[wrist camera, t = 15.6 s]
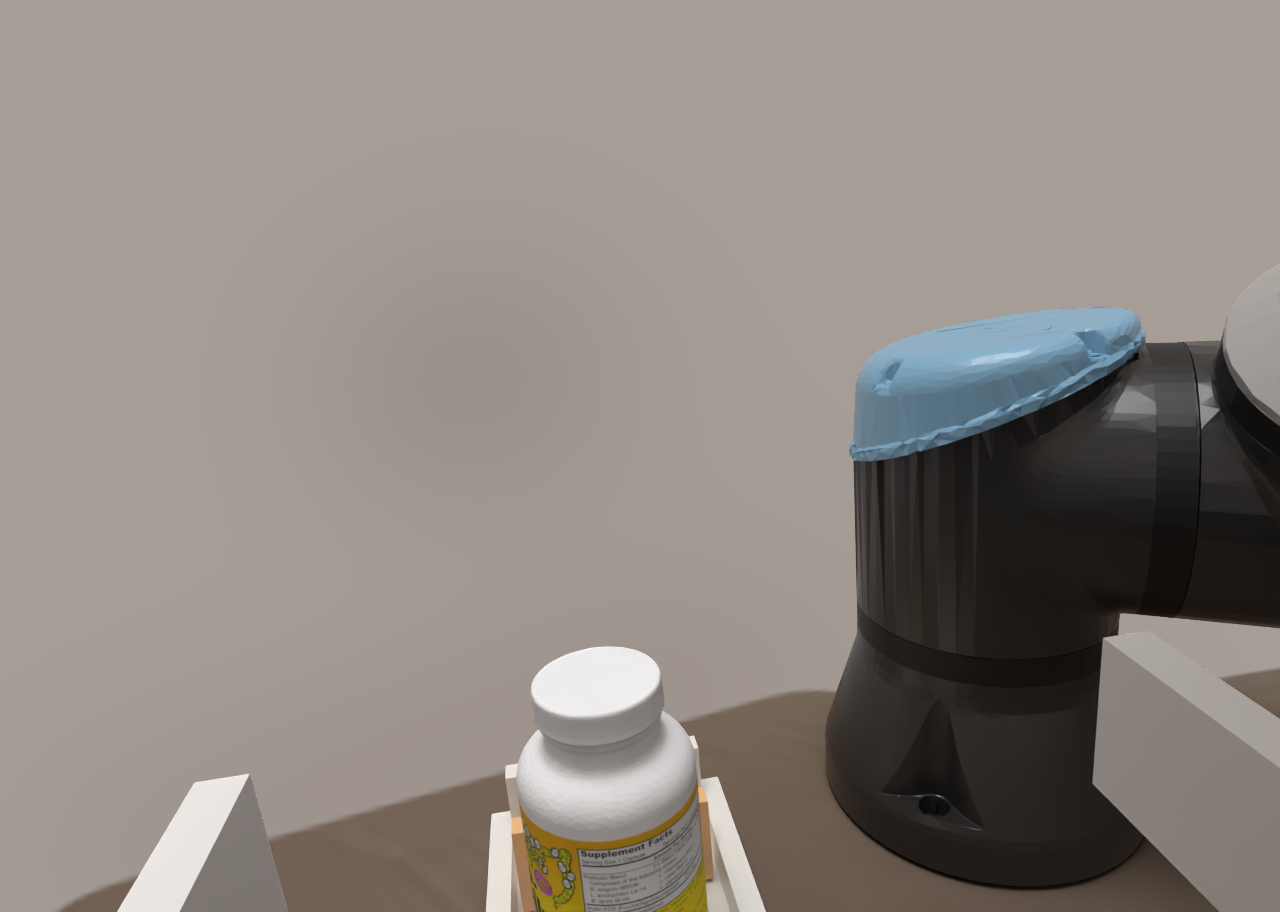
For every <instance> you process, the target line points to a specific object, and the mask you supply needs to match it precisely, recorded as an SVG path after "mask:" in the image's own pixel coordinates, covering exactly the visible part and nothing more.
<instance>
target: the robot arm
mask: <svg viewBox="0 0 1280 912" xmlns="http://www.w3.org/2000/svg"><path fill="white" fill-rule="evenodd" d="M1145 336H1146V330H1145V329H1144V328H1143V327H1142V326H1141V324H1140V320H1139V317H1138V316H1137V315H1136V314H1135V313H1134V312H1132V311H1130V310H1127V309H1122V308H1113V307H1092V308H1086V309H1085V308H1080V309H1073V310H1068V309H1056V310H1046V311H1037V312H1029V313H1021V314H1014V315H1007V316H1001V317H995V318H989V319H983V320H978V321H972V322H967V323H962V324H957V325H953V326H948V327H944V328H940V329H936V330H932V331H928V332H924V333H921V334H917V335H914V336H910V337H908V338H904V339H902V340H899V341H897V342H894V343H892V344H890V345H888V346H886V347H884V348H882V349H880V350H879V351H878V352H876V353H875V354H874V355H873V356H871V357H870V358H869V359H868V361H867V362H866V363H865V364H864V366H863V367H862V369H861V371H860V373H859V375H858V378H857V382H856V391H855V413H854V435H853V439H852V441H851V444H850V448H849V451H850V456H851V457H852V459H853V460H854V493H855V494H854V497H855V532H856V533H855V538H856V577H857V578H856V579H857V618H858V619H857V636H856V638H855V641H854V644H853V647H852V649H851V652H850V655H849V658H848V661H847V663H846V666H845V669H844V672H843V675H842V678H841V681H840V683H839V686H838V689H837V692H836V695H835V698H834V700H833V703H832V706H831V709H830V712H829V715H828V718H827V724H826V732H825V738H826V769H827V776H828V780H829V783H830V786H831V789H832V791H833V793H834V795H835V797H836V798H837V800H838V802H839V803H840V805H841V806H842V807H843V809H844V810H845V812H846V813H847V814H848V815H849V816H850V817H851V818H852V819H853V820H854V821H855V822H856V823H857V824H858V825H859V826H860V827H861V828H862V829H863V830H864V831H866V832H867V833H868V834H869V835H871V836H872V837H873V838H875V839H876V840H877V841H879V842H880V843H882V844H883V845H885V846H886V847H888V848H890V849H891V850H893V851H895V852H897V853H898V854H900V855H902V856H904V857H906V858H908V859H910V860H913V861H915V862H917V863H919V864H921V865H924V866H927V867H929V868H932V869H934V870H937V871H940V872H943V873H946V874H950V875H953V876H957V877H960V878H965V879H969V880H973V881H979V882H984V883H991V884H998V885H1009V886H1049V885H1059V884H1065V883H1071V882H1075V881H1080V880H1084V879H1087V878H1090V877H1093V876H1096V875H1098V874H1101V873H1103V872H1105V871H1107V870H1109V869H1111V868H1113V867H1115V866H1116V865H1118V864H1120V863H1121V862H1122V861H1124V860H1125V859H1126V858H1127V857H1129V856H1130V855H1131V854H1132V853H1133V852H1134V850H1135V849H1136V848H1137V847H1138V845H1139V844H1140V842H1141V840H1142V839H1143V837H1144V836H1145V837H1146V838H1147V839H1148V840H1149V841H1150V842H1151V843H1152V844H1153V845H1154V846H1155V847H1156V848H1157V849H1158V850H1159V851H1160V852H1161V853H1162V854H1163V855H1164V856H1165V857H1166V858H1167V859H1168V860H1169V861H1170V862H1171V863H1172V864H1173V865H1174V866H1175V867H1176V868H1177V869H1178V870H1179V871H1180V872H1181V873H1182V874H1183V875H1184V876H1185V877H1186V878H1187V880H1188V881H1189V882H1190V883H1191V884H1192V885H1193V886H1194V887H1195V888H1196V889H1197V890H1198V891H1199V892H1200V893H1201V894H1202V895H1203V896H1204V897H1205V898H1206V899H1207V900H1208V901H1209V902H1210V903H1211V904H1212V905H1213V906H1214V907H1215V908H1216V909H1217V910H1218V911H1219V912H1280V719H1279V718H1278V717H1276V716H1275V715H1273V714H1272V713H1270V712H1269V711H1267V710H1266V709H1264V708H1263V707H1261V706H1260V705H1258V704H1257V703H1255V702H1254V701H1252V700H1251V699H1249V698H1248V697H1246V696H1245V695H1243V694H1242V693H1240V692H1239V691H1237V690H1236V689H1234V688H1233V687H1231V686H1230V685H1228V684H1227V683H1225V682H1224V681H1222V680H1221V679H1219V678H1218V677H1216V676H1215V675H1213V674H1212V673H1210V672H1209V671H1207V670H1206V669H1204V668H1203V667H1201V666H1200V665H1198V664H1197V663H1195V662H1194V661H1192V660H1191V659H1189V658H1188V657H1186V656H1185V655H1184V654H1182V653H1180V652H1179V651H1178V650H1176V649H1175V648H1173V647H1172V646H1170V645H1169V644H1167V643H1166V642H1164V641H1163V640H1161V639H1160V638H1158V637H1157V636H1155V635H1154V634H1152V633H1150V632H1149V631H1143V632H1136V633H1130V634H1124V635H1118V629H1119V618H1120V614H1121V613H1128V614H1139V615H1150V616H1160V617H1169V618H1181V619H1191V620H1201V621H1211V622H1221V623H1232V624H1242V625H1252V626H1262V627H1272V628H1280V264H1278V265H1276V266H1275V267H1273V268H1271V269H1270V270H1268V271H1266V272H1264V273H1263V274H1262V275H1261V276H1259V277H1258V278H1257V279H1256V280H1254V281H1253V282H1252V283H1251V284H1250V285H1249V286H1248V287H1247V288H1246V289H1245V290H1244V291H1243V292H1242V293H1241V294H1240V295H1239V297H1238V299H1237V300H1236V302H1235V303H1234V305H1233V307H1232V308H1231V311H1230V314H1229V316H1228V318H1227V321H1226V324H1225V328H1224V332H1223V336H1222V339H1221V341H1201V342H1200V341H1199V342H1198V341H1197V342H1178V343H1145ZM117 912H288V909H287V906H286V902H285V898H284V895H283V891H282V888H281V884H280V880H279V877H278V873H277V870H276V866H275V862H274V859H273V855H272V852H271V848H270V845H269V841H268V837H267V834H266V830H265V827H264V823H263V819H262V816H261V812H260V809H259V805H258V801H257V798H256V794H255V791H254V787H253V784H252V780H251V776H250V774H246V775H239V776H233V777H226V778H220V779H214V780H208V781H201V782H195V783H194V785H193V786H192V788H191V790H190V791H189V793H188V794H187V796H186V798H185V799H184V801H183V803H182V804H181V806H180V808H179V810H178V811H177V813H176V815H175V816H174V818H173V820H172V821H171V823H170V825H169V826H168V828H167V830H166V832H165V833H164V835H163V836H162V838H161V840H160V841H159V843H158V845H157V846H156V848H155V850H154V851H153V853H152V855H151V856H150V858H149V860H148V861H147V863H146V865H145V866H144V868H143V870H142V871H141V873H140V875H139V876H138V878H137V880H136V881H135V883H134V885H133V886H132V888H131V890H130V891H129V893H128V895H127V896H126V898H125V900H124V901H123V903H122V905H121V906H120V908H119V910H118V911H117Z"/></svg>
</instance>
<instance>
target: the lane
mask: <svg viewBox="0 0 1280 912" xmlns="http://www.w3.org/2000/svg"><path fill="white" fill-rule="evenodd" d="M688 737H689V738H690V740H691V743H692V745H693V749H694V753H695V759H696V770H697V780H698V787H703V788H704V791H705V794H706V797H707V800H708V808H709V821H710V833H711V846H712V859H713V872H714V878H712V879H707V880H706V891H707V904H708V912H766V911H765V908H764V905H763V903H762V900H761V897H760V894H759V891H758V889H757V886H756V883H755V880H754V877H753V875H752V872H751V869H750V866H749V863H748V861H747V858H746V855H745V852H744V849H743V847H742V844H741V841H740V838H739V835H738V833H737V830H736V827H735V824H734V821H733V819H732V816H731V813H730V810H729V807H728V805H727V802H726V799H725V796H724V793H723V791H722V788H721V785H720V782H719V779H718V777H713V778H707V779H701V778H700V765H699V752H698V746H697V743H696V740H695V737H694V736H688ZM517 767H518V764H512V765H506V776H505V780H506V786H507V793H508V799H509V806H510V811H507V812H501V813H495V814H492V817H491V834H490V852H489V869H488V887H487V904H486V912H523V907H522V900H521V894H520V887H519V881H518V874H517V868H516V861H515V855H514V848H513V842H512V835H511V828H512V818H517V817H521V813H520V806H519V800H518V791H517V782H516V775H517ZM527 912H535V910H533V911H527Z"/></svg>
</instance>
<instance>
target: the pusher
mask: <svg viewBox="0 0 1280 912" xmlns="http://www.w3.org/2000/svg"><path fill="white" fill-rule="evenodd" d="M698 793H699V807H700V820H701V831H702V843H703V855H704V867H705V879H706V880H707V879H712V878H714V872H713V859H712V846H711V833H710V821H709V808H708V800H707V797H706V794H705V791H704V788H703V787H698ZM511 835H512V842H513V848H514V855H515V861H516V868H517V874H518V881H519V887H520V894H521V900H522V907H523V912H527V911H533V910H535V906H534V899H533V893H532V885H531V879H530V873H529V865H528V859H527V851H526V844H525V838H524V831H523V825H522V819H521V817H517V818H512V828H511Z"/></svg>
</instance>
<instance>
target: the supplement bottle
mask: <svg viewBox="0 0 1280 912" xmlns="http://www.w3.org/2000/svg"><path fill="white" fill-rule="evenodd" d="M531 698H532V707H533V717H534V721H535V724H536V726H537V727H538V730H537V731H536V732H535V734H534V735H533V736H532V737H531V738H530V740H529V741H528V743H527V744H526V746H525V748H524V750H523V752H522V754H521V756H520V759H519V762H518V767H517V775H516V782H517V791H518V800H519V806H520V813H521V819H522V825H523V831H524V838H525V844H526V851H527V859H528V865H529V873H530V879H531V885H532V893H533V899H534V906H535V912H708V904H707V891H706V879H705V867H704V855H703V843H702V831H701V820H700V807H699V793H698V780H697V770H696V759H695V753H694V749H693V745H692V743H691V740H690V738H689V737H688V735H687V733H686V732H685V730H684V729H683V728H682V726H681V725H680V724H679V723H678V722H677V721H676V720H675V719H674V718H672V717H671V716H670V715H668V714H667V713H665V712H664V711H662V710H663V707H664V693H663V686H662V678H661V673H660V669H659V667H658V665H657V664H656V663H655V661H654V660H652V659H651V658H650V657H649V656H647V655H646V654H643V653H641V652H639V651H636V650H633V649H628V648H623V647H594V648H588V649H584V650H580V651H576V652H573V653H570V654H567V655H565V656H562V657H560V658H558V659H556V660H554V661H552V662H551V663H549V664H547V665H546V666H545V667H544V668H543V669H542V670H541V671H540V672H539V673H538V674H537V675H536V677H535V679H534V680H533V682H532V686H531Z"/></svg>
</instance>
